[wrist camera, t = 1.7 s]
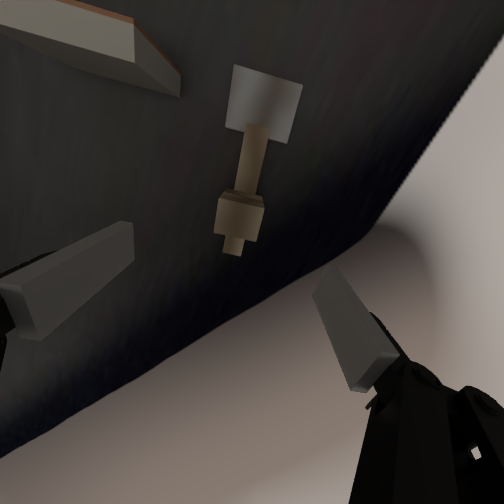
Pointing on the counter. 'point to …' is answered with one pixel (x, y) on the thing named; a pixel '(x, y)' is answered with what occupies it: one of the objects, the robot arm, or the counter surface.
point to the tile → (91, 41)
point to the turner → (253, 148)
